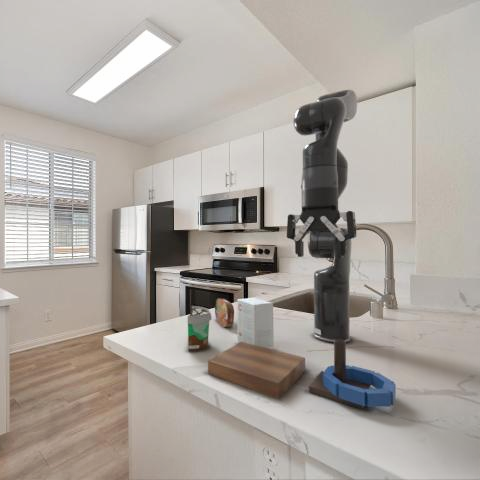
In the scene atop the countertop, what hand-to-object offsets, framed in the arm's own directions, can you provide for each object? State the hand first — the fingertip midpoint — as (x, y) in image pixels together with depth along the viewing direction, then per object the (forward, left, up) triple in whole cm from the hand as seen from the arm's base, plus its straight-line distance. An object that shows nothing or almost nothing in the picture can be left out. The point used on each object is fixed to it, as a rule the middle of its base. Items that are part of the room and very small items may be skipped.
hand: (319, 257), depth 70 cm
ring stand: (+9, +6, -26) cm, 28 cm away
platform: (+12, -10, -26) cm, 30 cm away
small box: (-2, -17, -26) cm, 31 cm away
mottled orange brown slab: (-16, -35, -26) cm, 47 cm away
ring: (+9, +9, -25) cm, 28 cm away
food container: (+7, -29, -26) cm, 40 cm away
